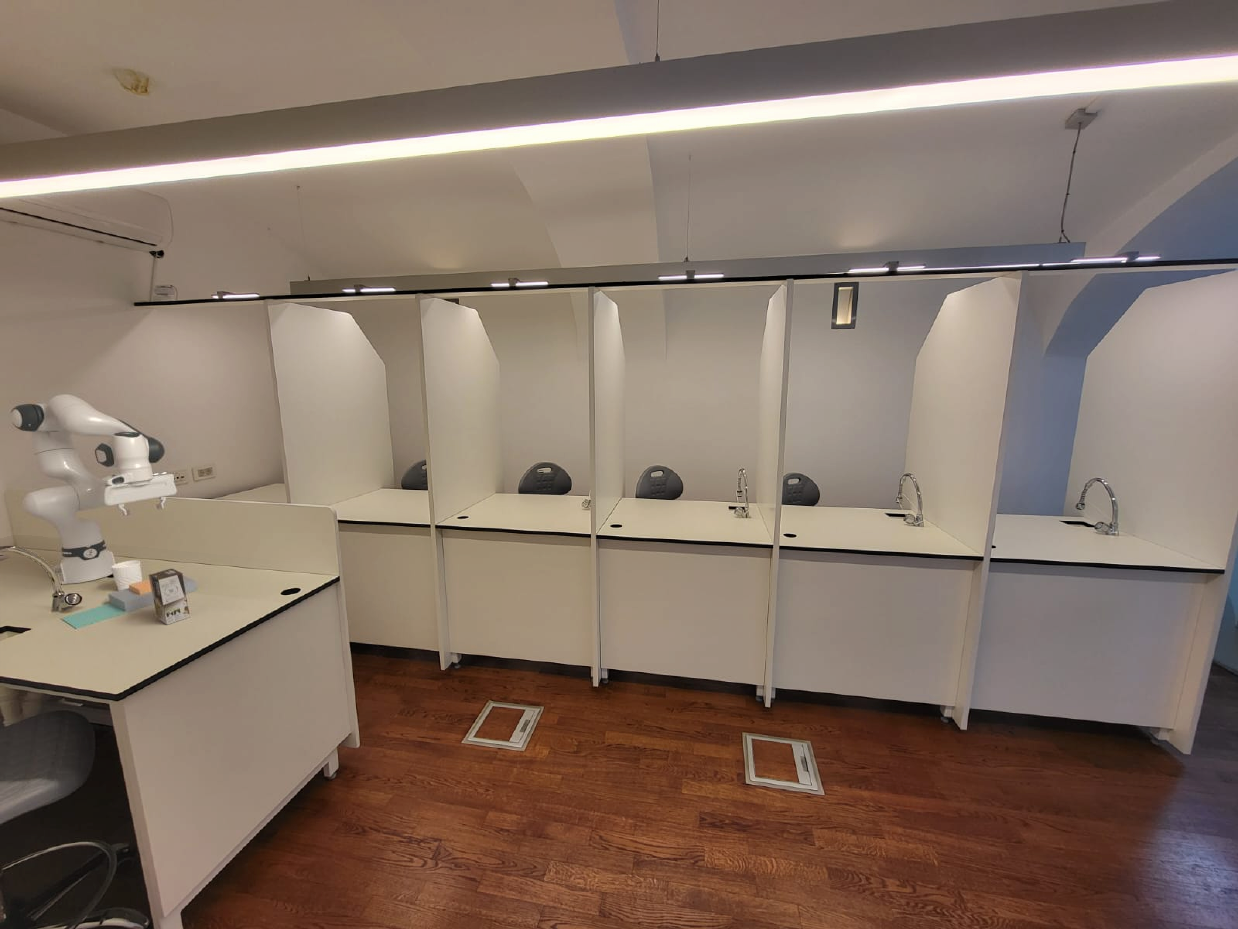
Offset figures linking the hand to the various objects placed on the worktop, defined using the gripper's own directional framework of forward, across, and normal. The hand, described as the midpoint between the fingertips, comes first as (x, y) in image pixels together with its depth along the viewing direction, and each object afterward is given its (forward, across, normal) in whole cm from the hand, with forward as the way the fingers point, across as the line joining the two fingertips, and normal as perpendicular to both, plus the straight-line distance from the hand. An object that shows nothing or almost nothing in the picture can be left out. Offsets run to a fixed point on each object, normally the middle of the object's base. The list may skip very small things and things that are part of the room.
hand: (144, 511), depth 177 cm
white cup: (+31, +4, -14) cm, 35 cm away
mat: (+32, +19, +5) cm, 37 cm away
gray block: (+32, +3, +4) cm, 32 cm away
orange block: (+28, +5, +5) cm, 29 cm away
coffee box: (+33, +7, +31) cm, 46 cm away
